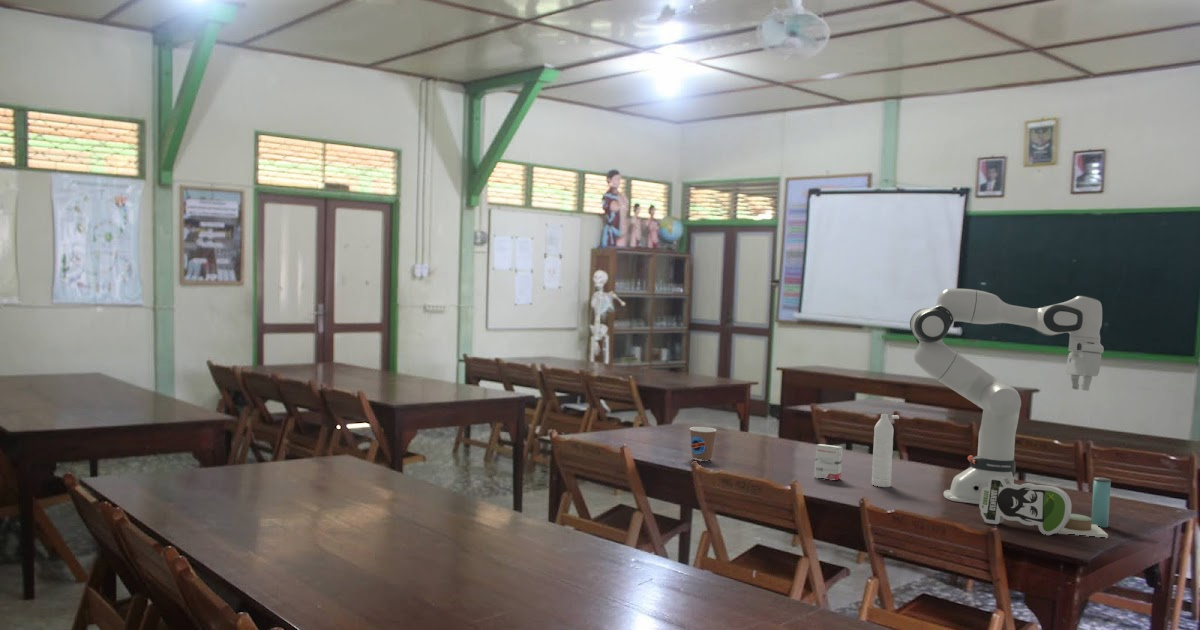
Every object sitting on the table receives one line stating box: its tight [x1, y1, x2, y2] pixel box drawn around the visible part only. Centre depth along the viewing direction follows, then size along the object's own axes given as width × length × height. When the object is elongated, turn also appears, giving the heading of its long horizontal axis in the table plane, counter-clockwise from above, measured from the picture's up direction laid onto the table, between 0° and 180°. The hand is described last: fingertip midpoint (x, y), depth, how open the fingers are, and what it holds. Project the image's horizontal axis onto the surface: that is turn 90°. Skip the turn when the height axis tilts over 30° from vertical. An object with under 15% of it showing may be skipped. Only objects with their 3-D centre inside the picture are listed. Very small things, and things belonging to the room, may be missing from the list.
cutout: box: [978, 476, 1073, 536], centre depth 273 cm, size 15×3×25 cm
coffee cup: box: [689, 426, 717, 460], centre depth 362 cm, size 10×10×12 cm
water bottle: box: [871, 413, 900, 488], centre depth 326 cm, size 9×6×25 cm
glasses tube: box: [1090, 476, 1112, 528], centre depth 281 cm, size 5×5×14 cm
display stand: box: [1055, 513, 1109, 539], centre depth 274 cm, size 14×12×4 cm
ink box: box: [813, 443, 843, 481], centre depth 336 cm, size 9×5×12 cm, turn 58°
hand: (1080, 389), depth 302 cm, fingers open, 8 cm apart
